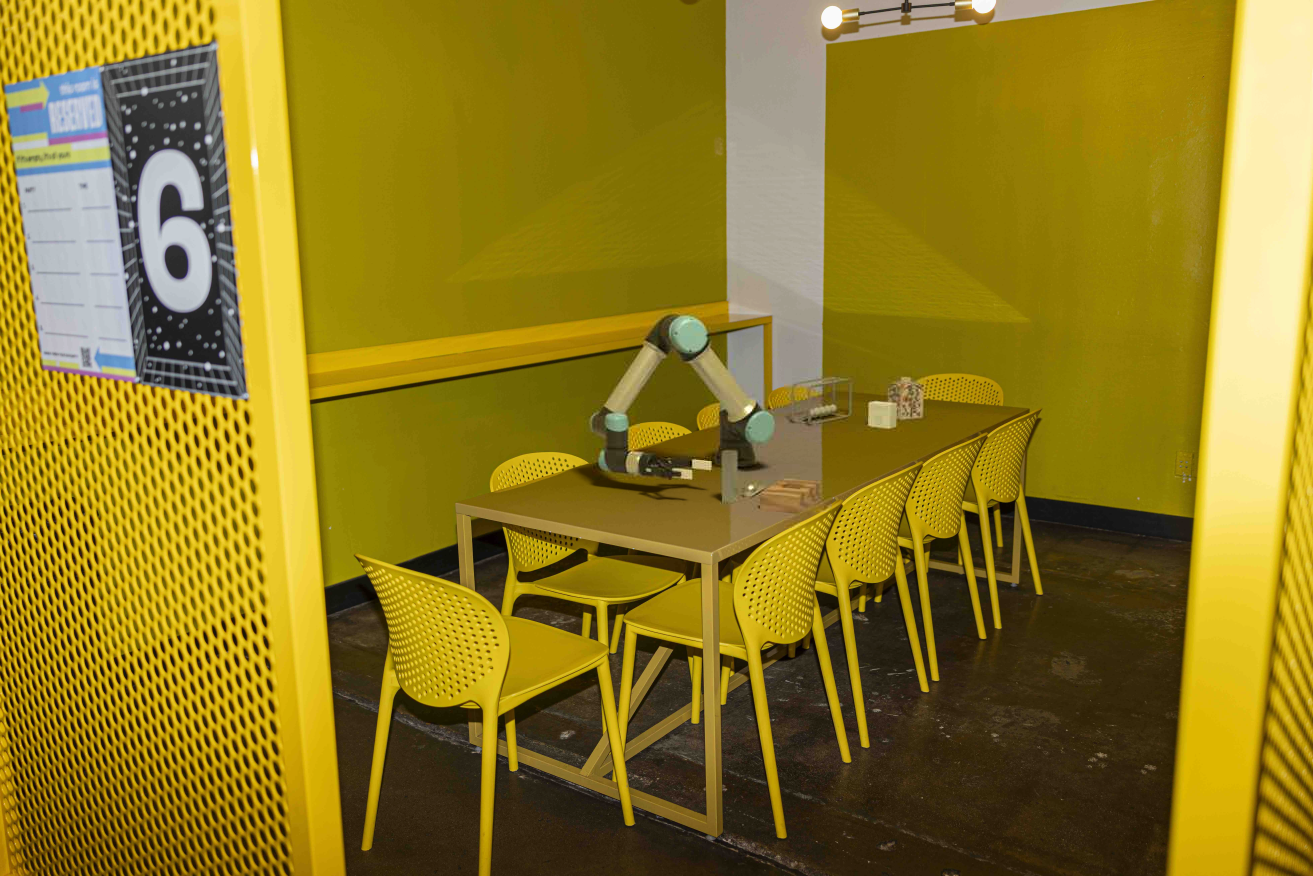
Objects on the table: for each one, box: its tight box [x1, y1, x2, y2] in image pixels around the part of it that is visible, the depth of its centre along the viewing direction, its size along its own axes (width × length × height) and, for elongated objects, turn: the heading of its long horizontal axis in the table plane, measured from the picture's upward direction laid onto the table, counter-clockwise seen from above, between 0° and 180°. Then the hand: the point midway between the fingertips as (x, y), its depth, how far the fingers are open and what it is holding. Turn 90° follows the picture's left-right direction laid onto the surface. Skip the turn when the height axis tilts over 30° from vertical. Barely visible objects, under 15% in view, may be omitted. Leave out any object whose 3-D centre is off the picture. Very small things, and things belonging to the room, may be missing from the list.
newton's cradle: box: [790, 376, 853, 426], centre depth 436 cm, size 30×10×18 cm, turn 132°
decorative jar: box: [887, 376, 925, 421], centre depth 437 cm, size 12×12×18 cm
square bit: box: [721, 450, 738, 504], centre depth 304 cm, size 4×4×16 cm
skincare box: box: [867, 400, 898, 430], centre depth 418 cm, size 10×6×10 cm, turn 49°
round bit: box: [741, 479, 766, 498], centre depth 315 cm, size 10×4×4 cm
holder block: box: [759, 477, 822, 514], centre depth 302 cm, size 20×12×5 cm, turn 151°
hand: (701, 470), depth 309 cm, fingers open, 13 cm apart
